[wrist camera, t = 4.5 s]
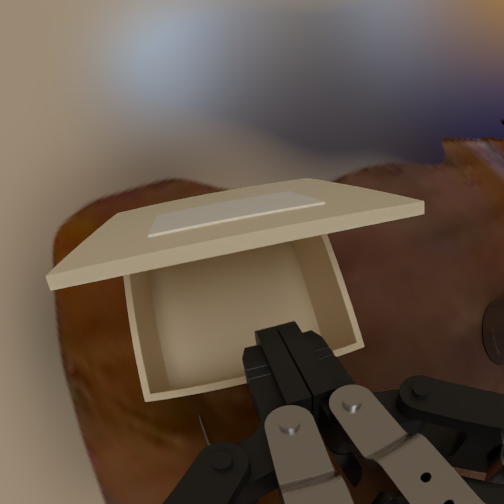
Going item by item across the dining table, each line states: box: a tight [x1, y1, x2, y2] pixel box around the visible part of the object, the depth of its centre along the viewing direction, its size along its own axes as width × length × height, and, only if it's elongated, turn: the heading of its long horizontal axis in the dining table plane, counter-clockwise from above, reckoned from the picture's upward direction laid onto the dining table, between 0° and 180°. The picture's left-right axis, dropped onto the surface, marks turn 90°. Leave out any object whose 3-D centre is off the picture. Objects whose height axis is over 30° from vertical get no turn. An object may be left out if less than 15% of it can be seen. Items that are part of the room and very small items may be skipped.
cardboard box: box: [123, 234, 365, 402], centre depth 25 cm, size 16×14×8 cm
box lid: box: [46, 178, 424, 290], centre depth 17 cm, size 16×14×1 cm
